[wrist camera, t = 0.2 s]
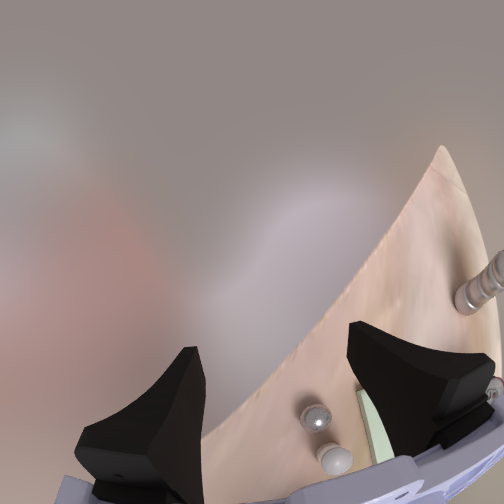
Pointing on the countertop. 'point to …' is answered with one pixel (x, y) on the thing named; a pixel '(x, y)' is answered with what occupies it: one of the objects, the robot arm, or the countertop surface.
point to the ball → (315, 418)
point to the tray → (374, 430)
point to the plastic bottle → (481, 287)
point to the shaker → (334, 458)
